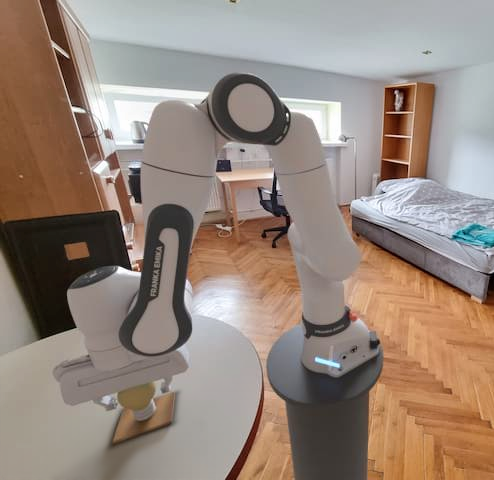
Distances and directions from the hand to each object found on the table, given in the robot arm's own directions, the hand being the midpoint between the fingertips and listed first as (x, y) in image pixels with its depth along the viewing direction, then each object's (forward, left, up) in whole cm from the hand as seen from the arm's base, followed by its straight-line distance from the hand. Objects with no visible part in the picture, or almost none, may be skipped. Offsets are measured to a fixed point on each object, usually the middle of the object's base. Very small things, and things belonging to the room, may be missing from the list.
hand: (140, 398), depth 60 cm
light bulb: (0, 0, -5) cm, 5 cm away
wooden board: (0, 0, -5) cm, 5 cm away
